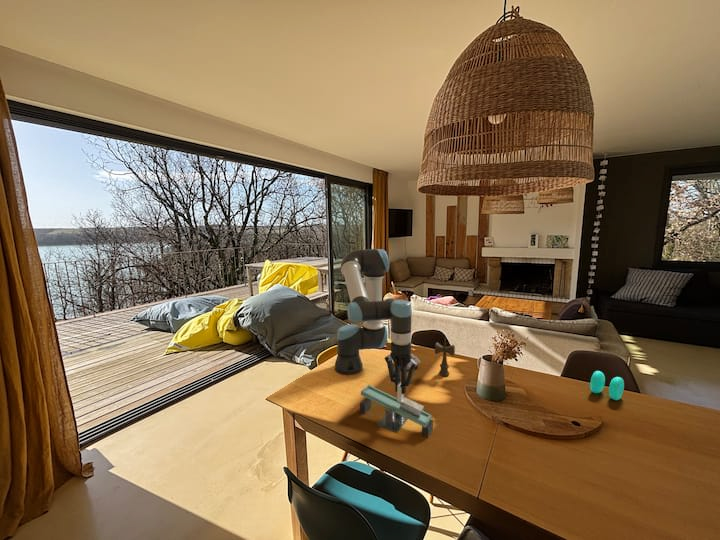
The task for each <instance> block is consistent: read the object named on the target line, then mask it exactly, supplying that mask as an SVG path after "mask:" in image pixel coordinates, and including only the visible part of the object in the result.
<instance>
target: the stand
mask: <svg viewBox="0 0 720 540" xmlns="http://www.w3.org/2000/svg"><path fill="white" fill-rule="evenodd" d="M395 398H397V396H396V397H395ZM385 408H386V407H385ZM370 409H372V400H370V399H368V398H366V397H364V399H363V400H362V401H361V402H360V403H359V412H360V413H361V414H364V415H365V414H367V412H369V410H370ZM407 421H408V419H407V418H405V417H403V416H401V415H399V414H397V413H395V412H394V410H392V409H389V408H386V409H385V415H384V416H383V417H382V418H381V419H380V421H378V423H377V427H379V428H382V429H385V431H386V430H387V431H389V432H392V433H394V434H398V433H399V432H400V430H401V429H402V427H403V426H404V425H405V423H406V422H407ZM433 431H434V420H433V419H431V420H430V421H429V423H428V425H427V426H426V428H425V427H423V426H421V436H423V437H424V438H425V437H426V438H430V435H432V434H431V433H432V432H433Z"/></svg>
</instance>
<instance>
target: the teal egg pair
mask: <svg viewBox="0 0 720 540" xmlns="http://www.w3.org/2000/svg"><path fill="white" fill-rule="evenodd" d="M605 383H606V376H605V374H604V373H603V372H602V371H600V370H595V371H594V372H593V374H592V375H591V378H590V386H589V387H590V390H591V392H592V393H594V394H600V393H601V392H602V391H603V390H604V387H605ZM624 389H625V381H624V379H623V377H620V376H615V377H613V378H612V379H611V381H610V383H609V387H608V394H609V397H610V398H611V399H612V400H614V401H620V399H621V398H622V396H623V393H624Z"/></svg>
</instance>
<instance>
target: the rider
mask: <svg viewBox="0 0 720 540" xmlns="http://www.w3.org/2000/svg"><path fill="white" fill-rule="evenodd" d="M400 409H401V410H403V411H405V412H407V413H409V414H411V415H413V416H415V417H417V418H419V419H420V417H421V416H422V415H423V411H424V409H425V406H424V405H422V404H420V403H418V402H416V401H415V400H411V399H409V398H407V397H405V396H404V399H403V400H402V401H401V404H400Z"/></svg>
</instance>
